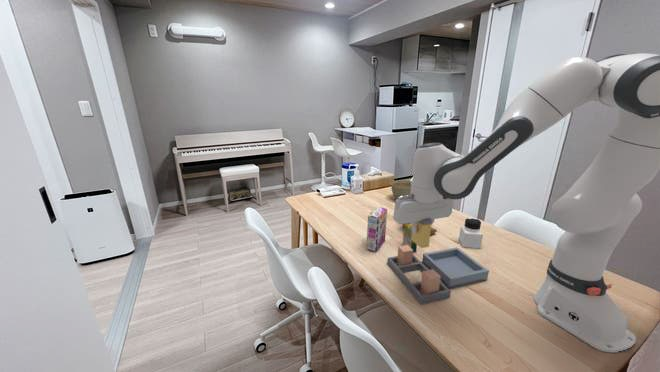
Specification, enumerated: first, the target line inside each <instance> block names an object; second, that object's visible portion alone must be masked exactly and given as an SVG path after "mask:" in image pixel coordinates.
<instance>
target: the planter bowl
mask: <svg viewBox="0 0 660 372" xmlns="http://www.w3.org/2000/svg"><path fill="white" fill-rule="evenodd" d="M411 182H412V180H406V179H399V180H394V181H392V182H391V184H390V185H391V192H392V194H393V197H394V198H395V201H396V200H397V198H399V197H400V196H406V195H410V194H411Z"/></svg>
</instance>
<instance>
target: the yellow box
mask: <svg viewBox="0 0 660 372" xmlns="http://www.w3.org/2000/svg"><path fill="white" fill-rule="evenodd" d="M431 222H432V220H431V219H430V218H429V219H423V220H421V221H419V222H417V224H415V225H416V226H417V227H418V228H419V232H418V233H414V232H412V236H411V240H412V241H413V242H415V243H416V244H417V246H418V247H419V248H420V249H424V248H428V247H429V246H430V238H431V235H430V231H431V227H432V225H431Z"/></svg>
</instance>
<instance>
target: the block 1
mask: <svg viewBox="0 0 660 372" xmlns="http://www.w3.org/2000/svg"><path fill="white" fill-rule="evenodd" d="M397 249H398V250H397V256H398V258H397V263H396V265H397V266H401V265H406V264H412V263H413V262H412V258H413V255H414V252H413V250H412V249H411V248H410V247H409V246H408V245H399V246H397Z"/></svg>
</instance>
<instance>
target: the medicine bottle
mask: <svg viewBox="0 0 660 372" xmlns="http://www.w3.org/2000/svg"><path fill="white" fill-rule="evenodd" d="M481 225H482V221H481V220H480V219H478V218H476V217H466V218H465V221H464V225H461V226H460V229H459V236H458V241H459V242H460V244H461V246H462V247H463V248H468V249H470V248H471V249H478V250H479V249H481V246H482V241H483V236H484V235H483V233H482V231H481Z"/></svg>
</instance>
